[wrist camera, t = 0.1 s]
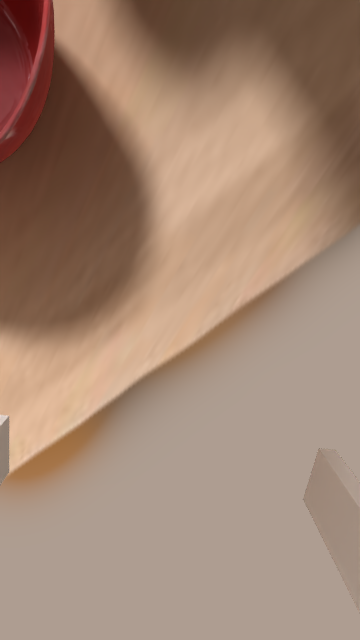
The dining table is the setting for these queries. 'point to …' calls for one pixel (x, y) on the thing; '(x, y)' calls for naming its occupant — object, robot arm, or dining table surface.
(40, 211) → the dining table surface
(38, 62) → the mixing bowl
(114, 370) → the dining table surface
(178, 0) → the dining table surface
